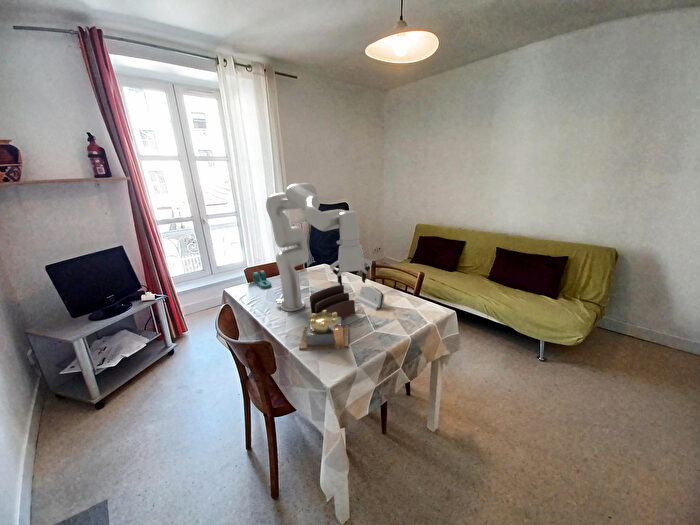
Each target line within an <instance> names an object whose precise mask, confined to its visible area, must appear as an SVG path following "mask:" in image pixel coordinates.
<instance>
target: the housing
mask: <svg viewBox="0 0 700 525" xmlns="http://www.w3.org/2000/svg"><path fill="white" fill-rule="evenodd" d="M338 326H341V327H342V328H343V340H344V347H343V348H342V349H348V348H350V347H349V346H350V345H349V325H348V324H346V325H342V319H341V317H338ZM299 349H310V350H329V349H331V350H333V349H336V348H335V345H334V334H333V333H332V332H331V331H330V332H325V333H319V332H315V331H313V330H312V329H311V328H310V320H308V324H307V326H305V327H304V328H303V333H302V335H301V339H300V343H299V347H298V350H299Z"/></svg>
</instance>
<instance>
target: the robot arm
mask: <svg viewBox="0 0 700 525" xmlns="http://www.w3.org/2000/svg"><path fill="white" fill-rule="evenodd" d="M320 204H321V200H320V197H319V196H318V192H317V188H316V186H315V185H314V184H312V183H310V182H302V183H293V184H290V185H288V186H287V188H286V189H285V191H284V192H277V193H273V194H271V195H269V196H268V197H267V199H266V201H265V207H266V212H267V214H268V217H269V219H270V221H271V226H272V230H273V231H272V232H273V236H274V242H275V244H276V245H277V247H278V248H281V249H282V248H283V249H284V248H288V249H284V250H281V251H279V252H278V253H277V254H276V256H275V262H276V265H277V269H278V272H279V278H280V285H281V292H282V298H281V299H280V298H279V299H275V304H276V305H281V306H280V307H281V308H280V309H281V310H282V311H284V312H297V311H299V310H301V309H303V308H305V301H304V300H303V299H302V293H301V292H302V291H301V285H300V284H301V283H300V275H299V272H298V271H297V270H296V269H295V267H297V266H301V265H302V264H303V265H304V264H306V263H307V262H308V260H309V249H308V244H307V243H308V242H307V237H306V233H305V231H304V229H303V228H302V227H300V226H299V225H297V226H296V225H294V226H291V223H290V220H289V217H288V216H287V214H286V213H285V212H284V211H292V210H298V209H301V210H302V211H304V216H305V219H306V221H307V222H308V223H309V224H310V225H311V226H313V227H314V228H316V229H317V230H319V231H322V232H327V231H331V230H335V229H336V230H337V229H339V240H336V245H339V247H338V254H337V255H338V258H337V259H338V260H336V261H335V262H333V263H331V264H330V265H329V268H330V269H331V271H332V272H333V274H335V275H336V276H337V283H338V284H339V285H343V282H342V274H343V273H350V272H358V271H361V281H362V283H366V280H367V273H368V271H369V270H370V269H371V266H372V264H373V261H372V260H370V259H366V258H365V257H364V252H363V251H364V250H363V246H362V244H360V230H359V228H360V226H359V225H360V224H359V214H358V212H357V211H356V210H345V209H341V208H340V209H338V208H337V209H331V210H325V211H321V210H319V207H320V206H321V205H320ZM292 246H294V247H292ZM289 247H291V248H289ZM365 264H366V266H365ZM337 266H338V270H337V269H336V267H337Z"/></svg>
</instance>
